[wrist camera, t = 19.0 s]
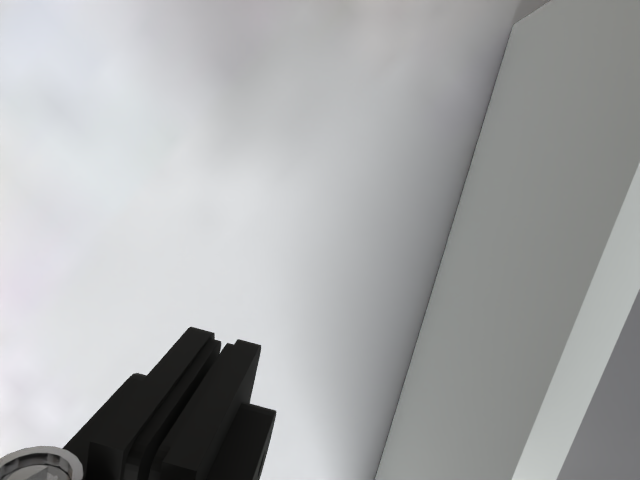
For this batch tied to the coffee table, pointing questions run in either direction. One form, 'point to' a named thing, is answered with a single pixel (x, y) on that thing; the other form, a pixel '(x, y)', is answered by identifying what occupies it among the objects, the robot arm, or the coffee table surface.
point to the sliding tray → (539, 271)
